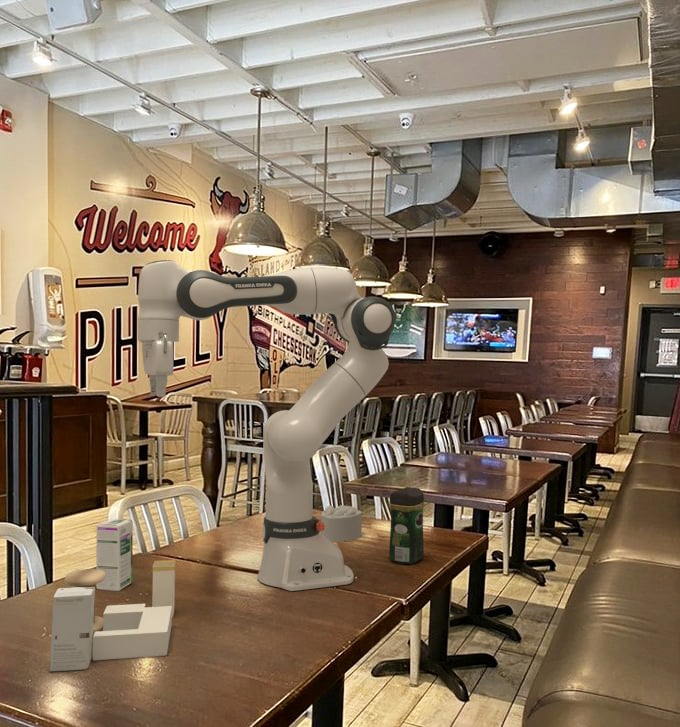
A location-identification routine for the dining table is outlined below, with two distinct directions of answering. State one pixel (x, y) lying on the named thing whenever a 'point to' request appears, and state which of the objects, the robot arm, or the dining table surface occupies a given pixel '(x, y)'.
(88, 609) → the skincare box
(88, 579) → the spool
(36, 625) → the dining table surface
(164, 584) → the gold trimmed white carton
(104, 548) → the syrup box
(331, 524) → the lumpy-topped squat cylinder
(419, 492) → the coffee jar
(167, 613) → the notched board
